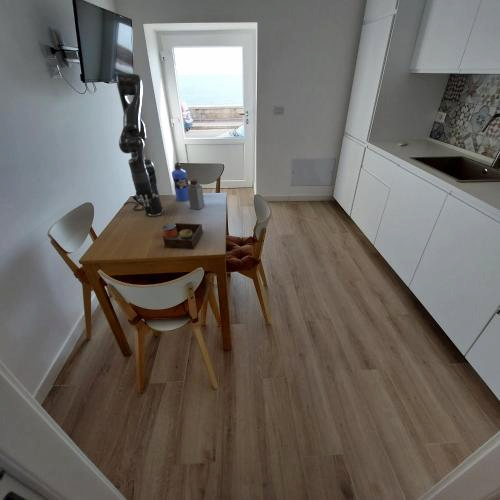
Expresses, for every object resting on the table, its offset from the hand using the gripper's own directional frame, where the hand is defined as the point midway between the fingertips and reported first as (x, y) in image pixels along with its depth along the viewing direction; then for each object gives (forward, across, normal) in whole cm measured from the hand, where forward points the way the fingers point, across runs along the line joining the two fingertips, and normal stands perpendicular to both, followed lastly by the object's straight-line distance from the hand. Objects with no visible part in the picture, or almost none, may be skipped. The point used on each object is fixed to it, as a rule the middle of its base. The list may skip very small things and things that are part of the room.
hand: (149, 212), depth 142 cm
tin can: (+14, -8, 0) cm, 16 cm away
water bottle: (+14, -4, -50) cm, 52 cm away
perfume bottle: (+14, -16, -37) cm, 43 cm away
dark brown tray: (+14, -17, +4) cm, 23 cm away
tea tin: (+14, -20, +8) cm, 26 cm away
